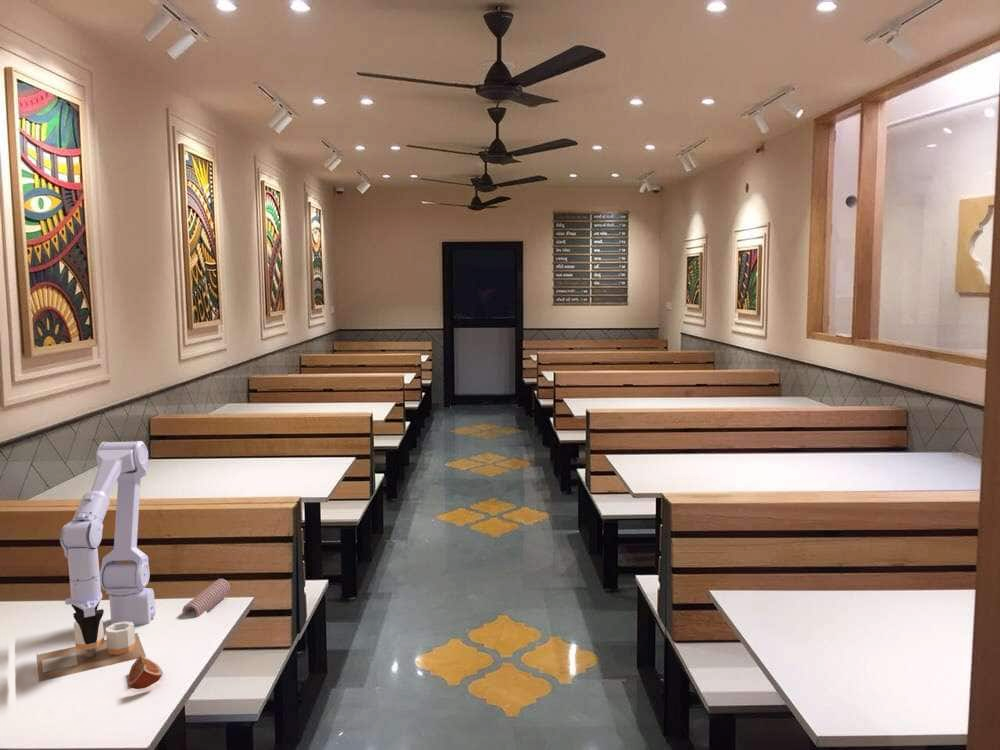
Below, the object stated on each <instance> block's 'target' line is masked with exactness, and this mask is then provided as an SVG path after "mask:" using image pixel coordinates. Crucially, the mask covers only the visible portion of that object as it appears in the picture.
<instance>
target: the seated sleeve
mask: <svg viewBox="0 0 1000 750" xmlns="http://www.w3.org/2000/svg"><path fill="white" fill-rule="evenodd" d="M135 629H136V628H135V625H134V624H133V622H125V621H124V622H119V623H114V624H110V625H109V626H106V627H105V635H106V640H107V650H108V653H109V654H115V655H119V654H123V653H127V652H130V651H131V650H133V649H134V648H136V642H135Z"/></svg>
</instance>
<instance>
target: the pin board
mask: <svg viewBox="0 0 1000 750" xmlns="http://www.w3.org/2000/svg"><path fill="white" fill-rule="evenodd" d="M104 641H105V643H103V644H102V645H100V646H98V647H96V648H92V649H87V650H81V649H76V645H75V646H71V647H67V648H62V649H57V650H53V651H48V652H44V653H40V654H37V655H36V661H37V672H38V673H37V674H38V682H43V681H48V680H52V679H55V678H60V677H64V676H69V675H70V676H71V675H73V674H77V673H78V674H79V673H82V672H86V671H87V672H88V671H90V670H95V669H99V668H103V667H107V666H113V665H116V664H120V663H124V662H130V661H132V660H137V659H138V658H139V656H140V655H141V656H144V657H145V658H147V655H146V653H145V650H144V647H143V644H142V642H141V639H140V636H139V633H138V632H136V633H135V642H136V648H134V649H133V650H131V651H130V652H127V653H123V654H119V655H115V654H109V653H108V650H107V639H104Z"/></svg>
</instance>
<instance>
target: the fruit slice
mask: <svg viewBox="0 0 1000 750" xmlns="http://www.w3.org/2000/svg"><path fill="white" fill-rule="evenodd" d="M163 674H164V673H163V670H162V668H161V667H160V666H159V665H158V664H157V663H156V662H154V661H152V660H151V659H149V658H147V657H144V656H141V655H140V656H139V658H138V659H135V661H134V663H133V664H132V665H131V667H130V669H129V672H128V675H127V679H126V681H127V686H128V687H131V689H135V690H141V689H142V690H143V689H146V688H148V687H150V686H151V685H153V684H155V683H156V682H157V681H158V680H159V679H160V678H161V677H162V676H163Z"/></svg>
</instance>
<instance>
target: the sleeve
mask: <svg viewBox="0 0 1000 750" xmlns="http://www.w3.org/2000/svg"><path fill="white" fill-rule="evenodd" d="M73 631H74V644H75V646H76V649H81V650H87V649H92V648H96V647H98V646H100V645H102V644H103V643H105V641H104V640H105V632H104V619H103V617H102V618H101V620H100V623H99V628H98V636H97V641H96V642H95V643H91V644H85V642H84V639H83V635H82V632H81V629H80V626H79V624H78V623H77V622H76V621H74V622H73Z"/></svg>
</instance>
